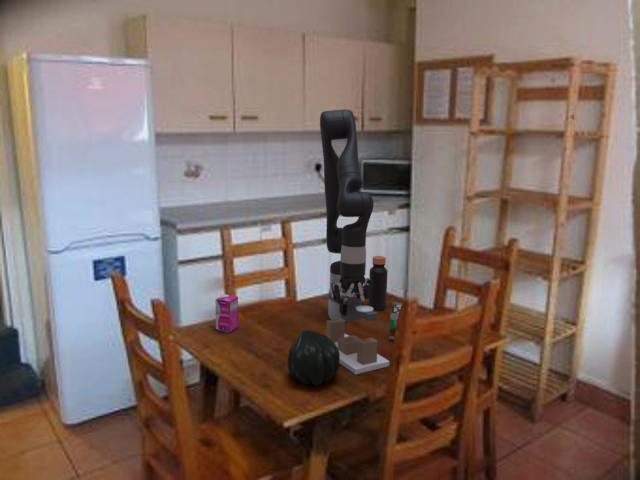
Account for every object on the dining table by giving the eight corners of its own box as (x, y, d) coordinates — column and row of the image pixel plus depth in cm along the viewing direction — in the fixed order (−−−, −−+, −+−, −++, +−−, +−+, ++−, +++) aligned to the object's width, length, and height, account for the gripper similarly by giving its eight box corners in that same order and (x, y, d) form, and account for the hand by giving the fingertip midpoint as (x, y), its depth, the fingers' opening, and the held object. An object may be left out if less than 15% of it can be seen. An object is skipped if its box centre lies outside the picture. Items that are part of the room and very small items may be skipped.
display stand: (314, 344, 180) (314, 321, 179) (345, 337, 186) (346, 315, 185) (355, 374, 160) (356, 348, 158) (389, 366, 166) (390, 340, 164)
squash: (358, 363, 155) (331, 316, 159) (320, 383, 144) (293, 331, 148) (330, 381, 164) (306, 336, 168) (293, 401, 154) (268, 352, 158)
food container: (407, 344, 182) (409, 315, 180) (388, 342, 183) (390, 313, 181) (409, 330, 194) (411, 303, 192) (391, 328, 195) (393, 301, 193)
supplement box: (215, 330, 190) (214, 298, 188) (224, 325, 196) (224, 293, 193) (230, 333, 188) (229, 301, 186) (239, 327, 193) (238, 295, 191)
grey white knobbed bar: (379, 328, 162) (380, 309, 161) (364, 331, 160) (365, 311, 159) (339, 306, 181) (339, 288, 180) (325, 308, 179) (326, 290, 177)
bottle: (365, 305, 219) (367, 255, 215) (382, 304, 220) (384, 254, 216) (371, 311, 212) (373, 260, 208) (388, 310, 214) (390, 259, 210)
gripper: (339, 265, 160) (337, 321, 164) (380, 260, 167) (377, 314, 171) (326, 259, 166) (324, 313, 170) (366, 254, 173) (363, 306, 177)
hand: (351, 313), depth 170 cm, fingers closed on grey white knobbed bar, 5 cm apart
